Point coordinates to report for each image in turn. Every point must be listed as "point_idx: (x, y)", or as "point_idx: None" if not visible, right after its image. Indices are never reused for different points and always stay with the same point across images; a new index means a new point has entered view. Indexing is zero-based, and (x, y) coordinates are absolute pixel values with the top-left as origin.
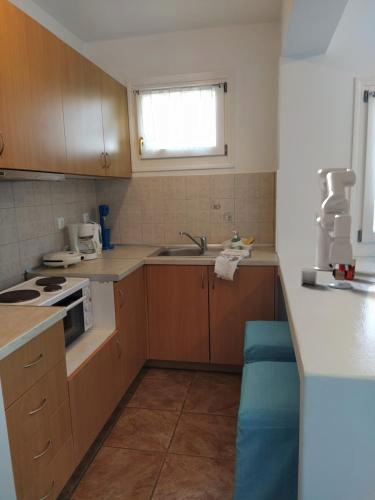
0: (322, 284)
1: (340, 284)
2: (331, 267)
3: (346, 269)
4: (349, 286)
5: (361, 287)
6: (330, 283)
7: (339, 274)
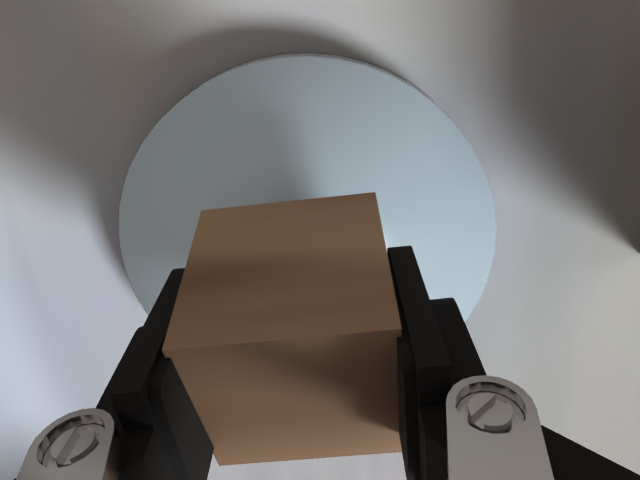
0: (548, 247)
1: None
2: (565, 450)
3: (91, 437)
4: (131, 164)
5: (14, 287)
6: (442, 220)
7: (294, 288)
